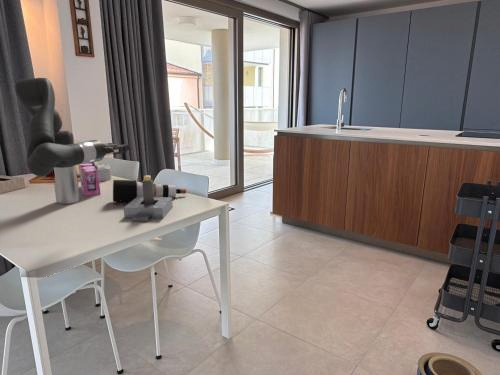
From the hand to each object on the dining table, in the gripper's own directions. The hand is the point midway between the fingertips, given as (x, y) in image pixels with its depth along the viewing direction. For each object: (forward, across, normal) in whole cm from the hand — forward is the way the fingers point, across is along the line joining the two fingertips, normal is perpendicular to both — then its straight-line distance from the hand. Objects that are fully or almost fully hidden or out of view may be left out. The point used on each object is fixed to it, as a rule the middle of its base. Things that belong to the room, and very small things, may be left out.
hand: (120, 146), depth 135 cm
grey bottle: (+12, -2, +30) cm, 32 cm away
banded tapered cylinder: (+28, +9, +30) cm, 42 cm away
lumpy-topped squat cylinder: (+53, +65, +30) cm, 89 cm away
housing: (+12, -2, +30) cm, 32 cm away
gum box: (+30, +50, +30) cm, 65 cm away
